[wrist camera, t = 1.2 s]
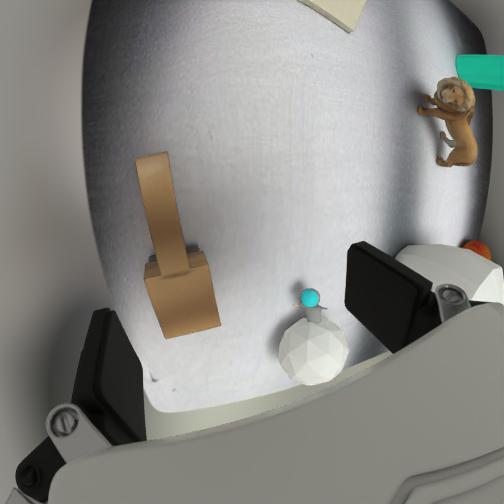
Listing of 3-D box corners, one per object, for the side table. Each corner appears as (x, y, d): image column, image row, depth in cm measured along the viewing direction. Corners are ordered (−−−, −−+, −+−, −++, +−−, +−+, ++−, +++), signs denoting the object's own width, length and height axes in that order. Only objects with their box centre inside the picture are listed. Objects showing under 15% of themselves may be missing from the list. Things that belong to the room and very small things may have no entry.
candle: (453, 49, 23) (514, 49, 13) (469, 62, 25) (524, 66, 15) (457, 81, 26) (520, 86, 15) (472, 92, 27) (529, 100, 17)
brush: (124, 160, 19) (114, 164, 15) (183, 147, 20) (188, 148, 16) (163, 309, 25) (165, 339, 21) (211, 298, 27) (221, 326, 23)
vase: (402, 317, 40) (504, 408, 18) (349, 308, 34) (482, 442, 12) (441, 240, 36) (561, 314, 14) (397, 208, 30) (572, 303, 8)
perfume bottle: (270, 388, 30) (251, 306, 26) (303, 348, 36) (293, 270, 32) (329, 408, 25) (327, 322, 21) (356, 360, 31) (357, 277, 27)
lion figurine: (398, 91, 24) (460, 90, 16) (414, 70, 23) (472, 68, 15) (441, 176, 31) (491, 192, 23) (454, 153, 30) (502, 166, 22)
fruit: (448, 270, 40) (479, 290, 33) (458, 234, 38) (492, 252, 31) (463, 267, 42) (491, 284, 35) (472, 235, 40) (503, 250, 33)
